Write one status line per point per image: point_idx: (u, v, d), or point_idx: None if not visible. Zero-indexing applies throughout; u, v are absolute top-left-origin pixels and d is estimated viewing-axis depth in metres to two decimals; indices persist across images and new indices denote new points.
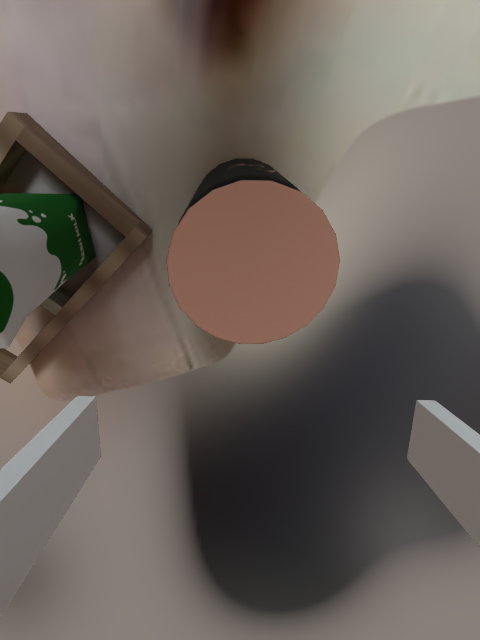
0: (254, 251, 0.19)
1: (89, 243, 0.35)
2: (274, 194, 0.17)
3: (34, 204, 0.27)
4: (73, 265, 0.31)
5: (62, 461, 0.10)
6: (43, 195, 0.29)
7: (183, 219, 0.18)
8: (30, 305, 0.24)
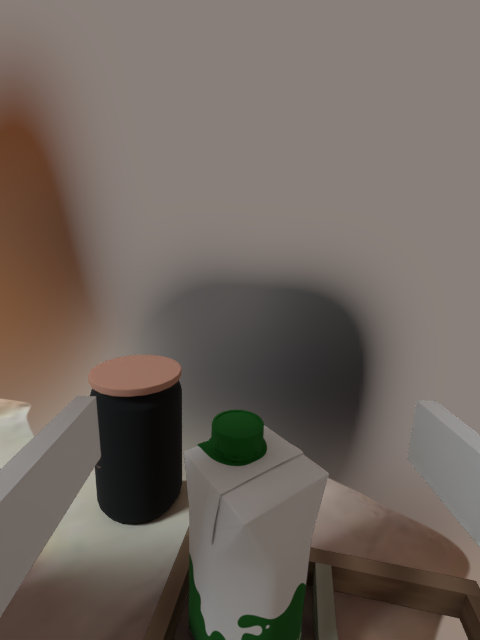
0: (124, 371, 0.38)
1: None
2: (93, 374, 0.37)
3: None
4: None
5: (62, 461, 0.10)
6: (189, 604, 0.26)
7: (118, 388, 0.33)
8: None
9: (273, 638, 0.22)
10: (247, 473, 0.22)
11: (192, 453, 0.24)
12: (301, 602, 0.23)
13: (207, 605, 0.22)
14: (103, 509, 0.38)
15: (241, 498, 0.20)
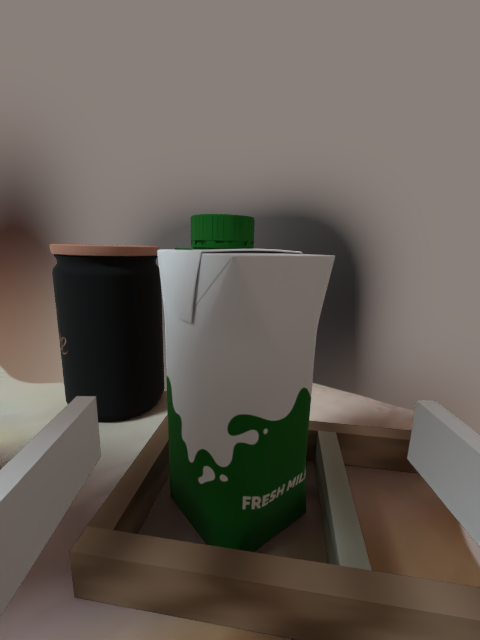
0: None
1: None
2: None
3: None
4: None
5: (62, 461, 0.10)
6: (169, 452, 0.21)
7: (83, 245, 0.29)
8: None
9: (272, 451, 0.17)
10: None
11: None
12: (306, 418, 0.19)
13: (189, 420, 0.18)
14: None
15: None
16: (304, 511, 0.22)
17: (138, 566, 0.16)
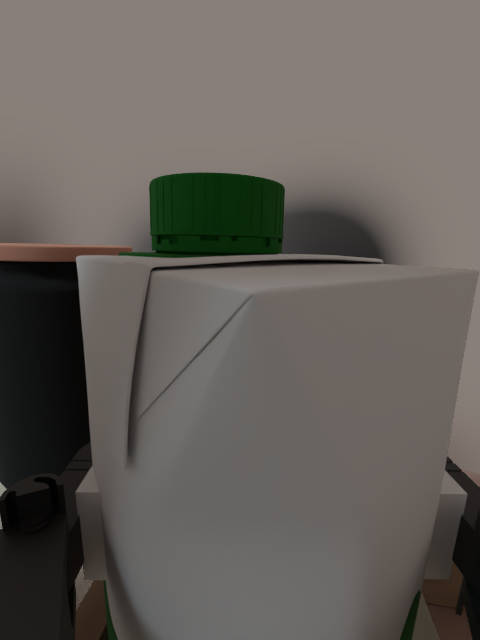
0: None
1: None
2: None
3: None
4: None
5: None
6: None
7: (2, 245, 0.18)
8: None
9: None
10: (246, 255, 0.07)
11: (96, 255, 0.09)
12: None
13: None
14: (1, 480, 0.23)
15: (231, 272, 0.05)
16: None
17: None
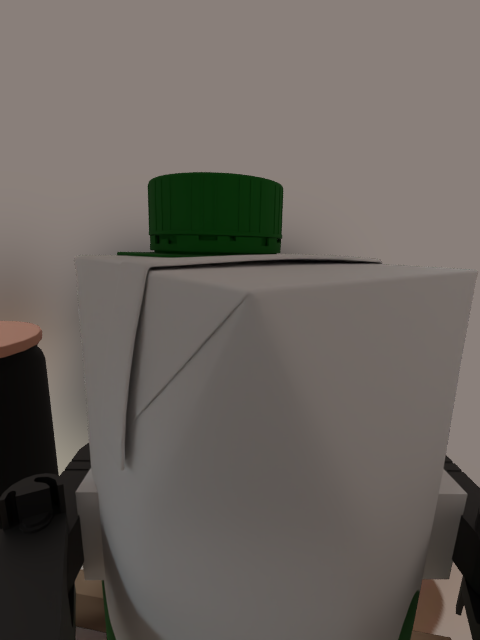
0: None
1: None
2: None
3: None
4: None
5: None
6: None
7: None
8: None
9: None
10: None
11: (95, 255, 0.09)
12: None
13: None
14: None
15: (228, 272, 0.05)
16: None
17: None
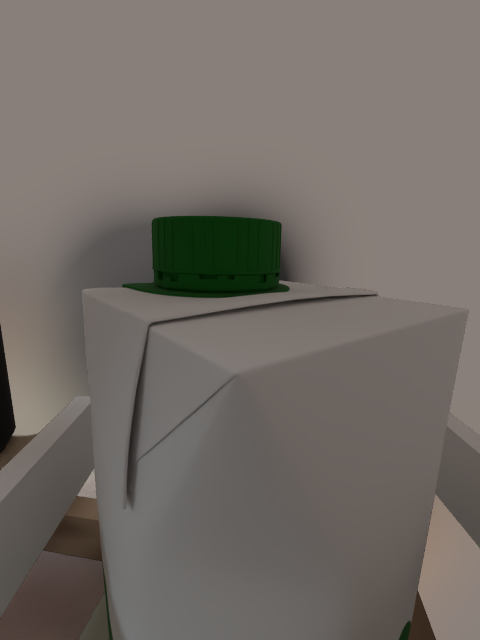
0: None
1: None
2: None
3: None
4: None
5: (62, 461, 0.10)
6: None
7: None
8: None
9: None
10: (242, 299, 0.07)
11: (101, 290, 0.09)
12: None
13: None
14: None
15: (223, 329, 0.05)
16: None
17: None
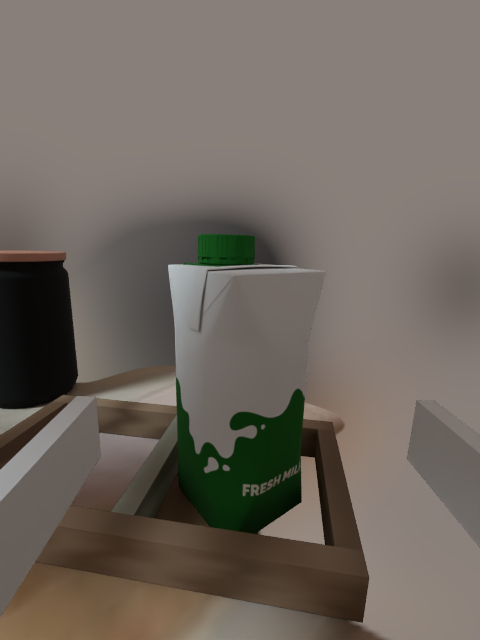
0: (0, 251, 0.37)
1: None
2: None
3: None
4: None
5: (62, 461, 0.10)
6: None
7: None
8: None
9: (269, 444, 0.20)
10: None
11: None
12: (299, 416, 0.21)
13: (195, 416, 0.20)
14: None
15: (230, 272, 0.18)
16: (299, 501, 0.24)
17: None
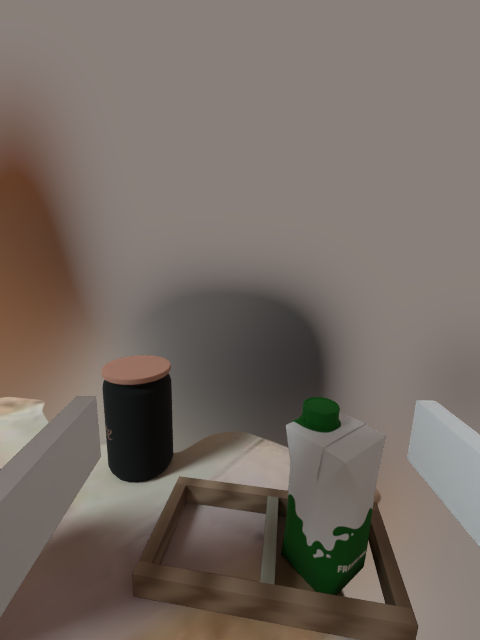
0: (128, 367, 0.51)
1: None
2: (105, 370, 0.50)
3: (287, 510, 0.37)
4: None
5: (62, 461, 0.10)
6: (287, 533, 0.37)
7: (125, 379, 0.47)
8: None
9: (354, 543, 0.33)
10: (334, 436, 0.33)
11: (292, 426, 0.35)
12: (369, 522, 0.35)
13: (309, 524, 0.34)
14: (114, 471, 0.51)
15: (336, 449, 0.32)
16: (363, 566, 0.38)
17: (165, 581, 0.33)
